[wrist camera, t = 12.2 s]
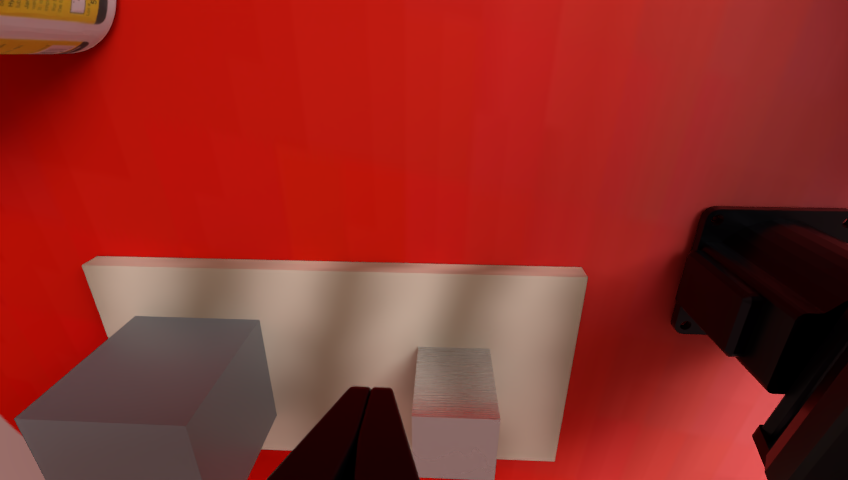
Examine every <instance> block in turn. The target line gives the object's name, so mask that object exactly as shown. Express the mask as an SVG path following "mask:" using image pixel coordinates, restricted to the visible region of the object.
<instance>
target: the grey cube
mask: <svg viewBox="0 0 848 480" xmlns="http://www.w3.org/2000/svg"><path fill="white" fill-rule="evenodd" d="M499 429H500V413H499V407H498V400H497V394H496V387H495V380H494V374H493V367H492V360H491V354H490V349H480V348H448V347H418V354H417V365H416V376H415V387H414V397H413V408H412V455H413V459H414V462H415V465H416V469H417V472H418V475H419V477H422V478H445V479H468V480H494V479H495V469H496V459H497V449H498V439H499Z"/></svg>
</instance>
